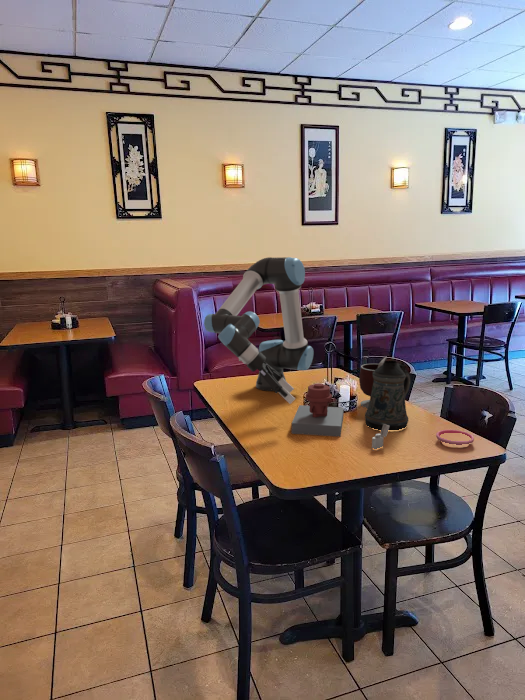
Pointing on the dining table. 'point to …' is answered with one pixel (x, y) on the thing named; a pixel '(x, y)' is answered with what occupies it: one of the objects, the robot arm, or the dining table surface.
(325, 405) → the mechanical component
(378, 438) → the lighter
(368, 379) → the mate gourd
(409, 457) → the dining table surface
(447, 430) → the pink torus ring
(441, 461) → the dining table surface
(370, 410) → the beer stein
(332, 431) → the plate
